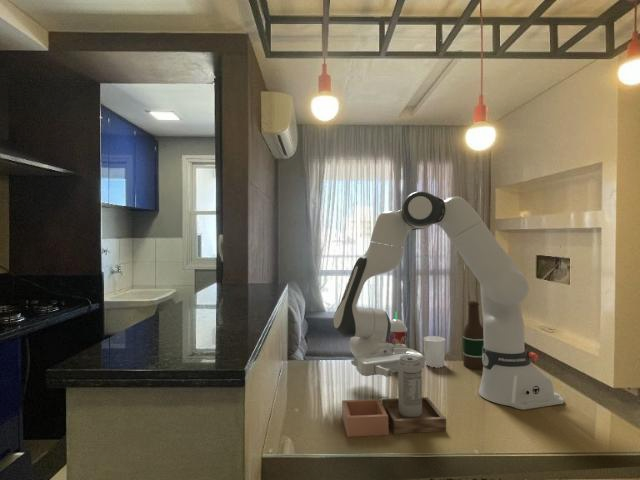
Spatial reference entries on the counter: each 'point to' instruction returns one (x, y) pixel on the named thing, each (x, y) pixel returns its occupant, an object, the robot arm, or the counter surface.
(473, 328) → the beer bottle
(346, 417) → the holder
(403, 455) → the counter surface
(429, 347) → the white cup
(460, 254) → the robot arm
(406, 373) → the energy drink can
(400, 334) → the smoothie
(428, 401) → the tray
